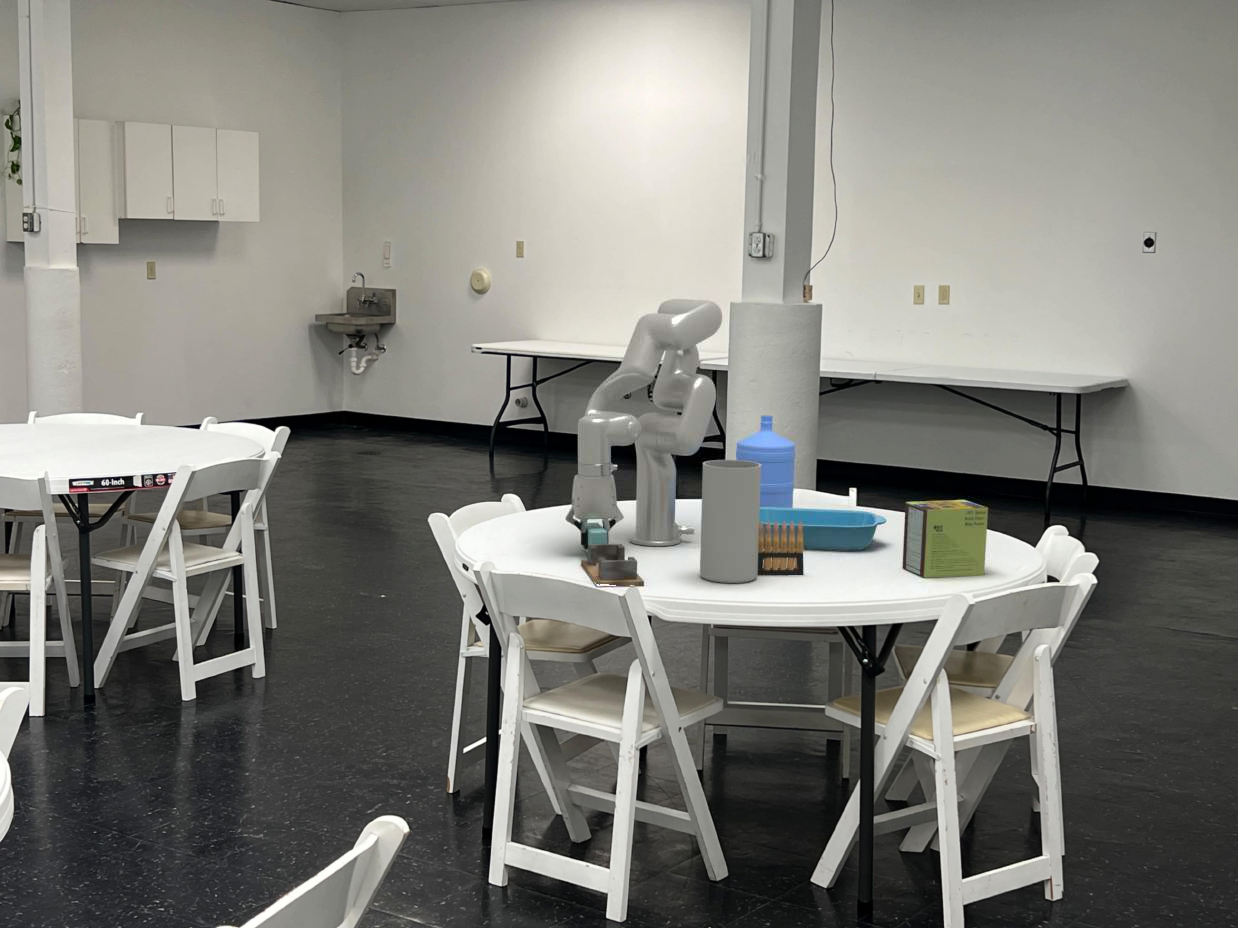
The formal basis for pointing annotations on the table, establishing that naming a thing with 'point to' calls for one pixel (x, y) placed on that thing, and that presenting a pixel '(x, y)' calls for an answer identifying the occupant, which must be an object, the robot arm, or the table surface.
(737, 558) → the cylinder vase
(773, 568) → the ammunition clip
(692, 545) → the table surface
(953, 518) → the protein box
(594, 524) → the teal long block
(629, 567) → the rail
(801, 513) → the casserole dish
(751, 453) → the water jug
